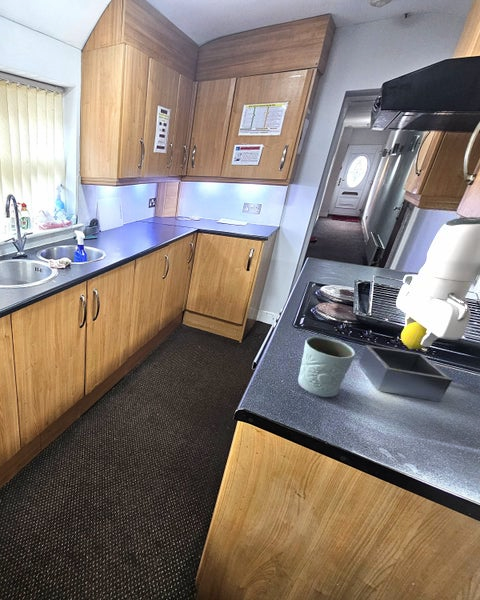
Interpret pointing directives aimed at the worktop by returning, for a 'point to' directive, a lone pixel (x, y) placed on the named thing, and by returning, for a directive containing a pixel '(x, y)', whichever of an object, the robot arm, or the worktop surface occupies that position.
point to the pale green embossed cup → (324, 365)
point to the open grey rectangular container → (403, 373)
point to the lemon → (413, 335)
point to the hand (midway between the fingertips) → (415, 338)
